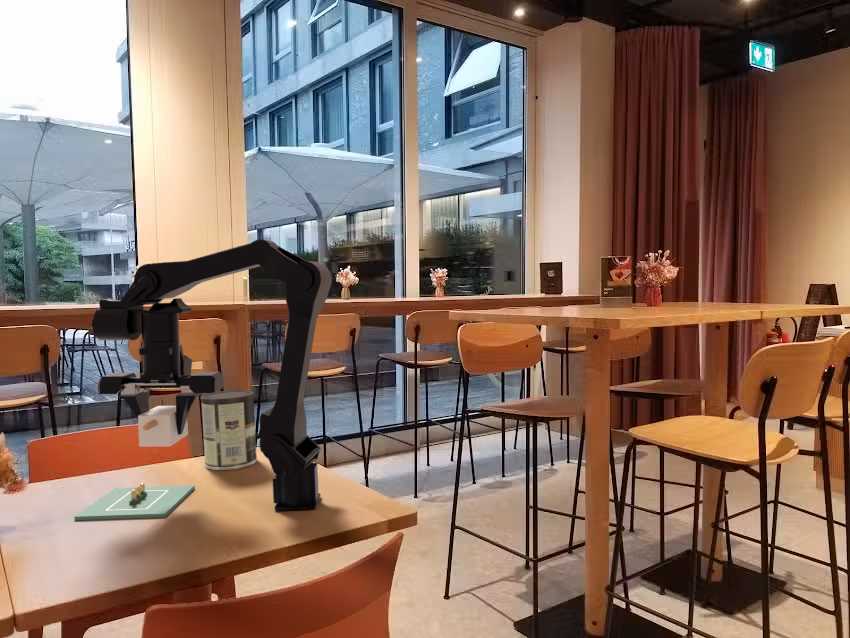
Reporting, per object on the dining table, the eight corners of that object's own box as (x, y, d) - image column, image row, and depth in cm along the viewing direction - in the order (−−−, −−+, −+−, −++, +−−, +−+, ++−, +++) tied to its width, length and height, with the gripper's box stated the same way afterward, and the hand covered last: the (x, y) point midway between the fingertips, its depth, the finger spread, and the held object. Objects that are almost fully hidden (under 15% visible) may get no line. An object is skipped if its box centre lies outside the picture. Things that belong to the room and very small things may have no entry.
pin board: (194, 488, 116) (194, 473, 116) (165, 517, 102) (164, 499, 102) (115, 491, 116) (114, 475, 116) (74, 520, 102) (73, 502, 102)
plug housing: (187, 434, 113) (187, 405, 112) (162, 452, 101) (161, 420, 101) (158, 434, 112) (157, 405, 112) (129, 452, 101) (128, 420, 101)
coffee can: (238, 454, 139) (235, 388, 139) (267, 461, 133) (264, 392, 132) (193, 465, 132) (190, 395, 131) (222, 473, 125) (219, 400, 124)
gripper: (231, 335, 116) (233, 423, 117) (125, 336, 115) (128, 424, 116) (212, 341, 105) (215, 438, 106) (94, 343, 104) (98, 439, 105)
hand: (164, 434), depth 108 cm, fingers closed on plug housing, 5 cm apart
